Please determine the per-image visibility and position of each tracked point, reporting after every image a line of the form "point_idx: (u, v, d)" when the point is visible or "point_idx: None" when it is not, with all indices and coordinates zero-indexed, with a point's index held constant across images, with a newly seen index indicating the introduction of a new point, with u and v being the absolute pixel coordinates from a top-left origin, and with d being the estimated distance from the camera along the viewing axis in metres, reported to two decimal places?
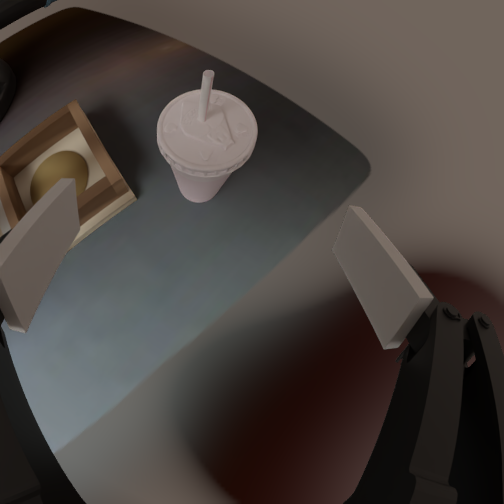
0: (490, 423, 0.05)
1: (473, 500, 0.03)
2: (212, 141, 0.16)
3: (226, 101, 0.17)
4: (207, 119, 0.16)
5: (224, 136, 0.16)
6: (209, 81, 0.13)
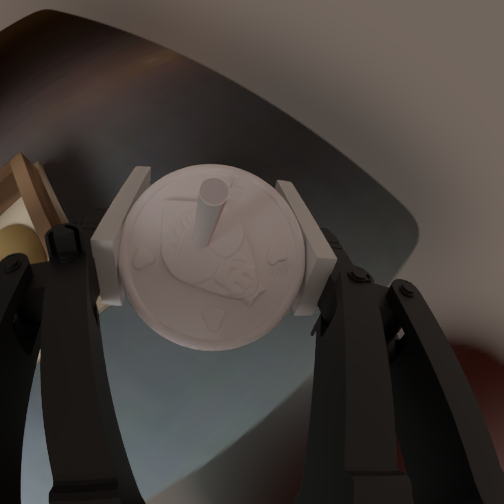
0: (440, 408, 0.05)
1: (443, 488, 0.04)
2: (224, 291, 0.09)
3: (246, 191, 0.10)
4: (212, 241, 0.09)
5: (246, 279, 0.09)
6: (217, 211, 0.05)
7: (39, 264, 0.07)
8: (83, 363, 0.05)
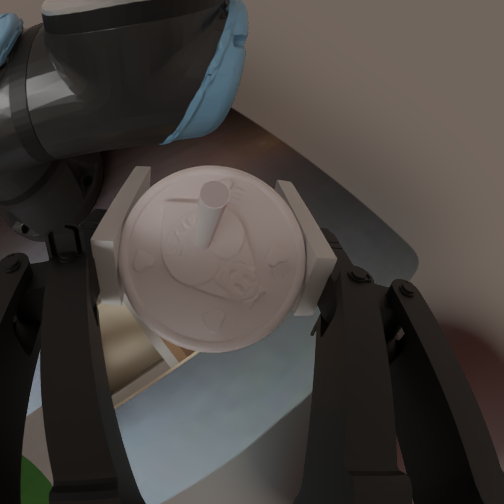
0: (440, 408, 0.05)
1: (443, 489, 0.04)
2: (224, 293, 0.09)
3: (247, 192, 0.10)
4: (213, 243, 0.09)
5: (247, 281, 0.09)
6: (218, 214, 0.05)
7: (39, 264, 0.07)
8: (83, 363, 0.05)
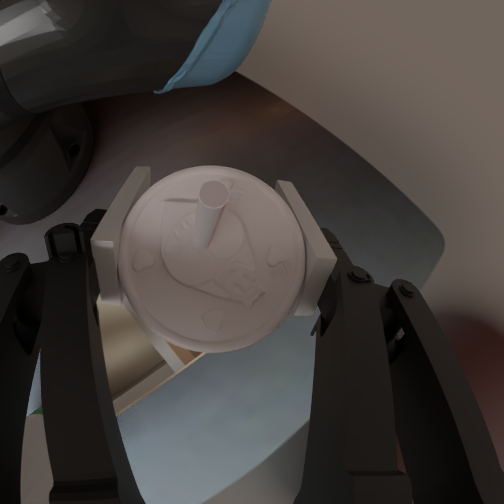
0: (440, 408, 0.05)
1: (443, 489, 0.04)
2: (224, 293, 0.09)
3: (246, 193, 0.10)
4: (212, 243, 0.09)
5: (246, 281, 0.09)
6: (216, 214, 0.05)
7: (39, 264, 0.07)
8: (83, 363, 0.05)
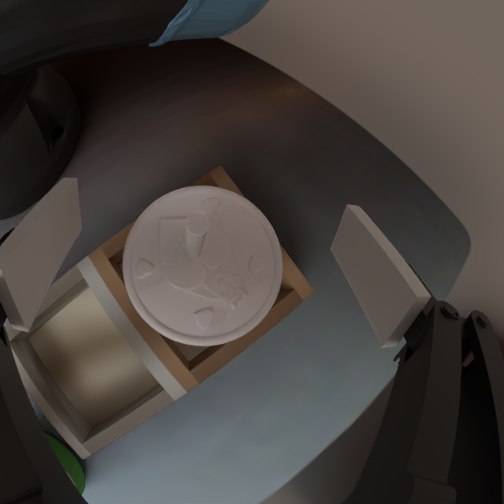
0: (489, 422, 0.05)
1: (472, 499, 0.03)
2: (212, 295, 0.11)
3: (231, 209, 0.12)
4: (202, 254, 0.11)
5: (231, 286, 0.11)
6: (201, 237, 0.07)
7: None
8: None
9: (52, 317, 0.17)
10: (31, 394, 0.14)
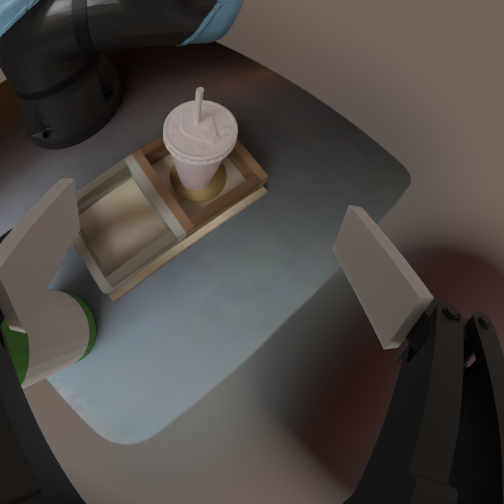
0: (490, 423, 0.05)
1: (473, 500, 0.03)
2: (204, 138, 0.22)
3: (214, 108, 0.23)
4: (200, 122, 0.22)
5: (213, 134, 0.22)
6: (200, 95, 0.19)
7: None
8: None
9: (97, 202, 0.29)
10: (75, 243, 0.25)
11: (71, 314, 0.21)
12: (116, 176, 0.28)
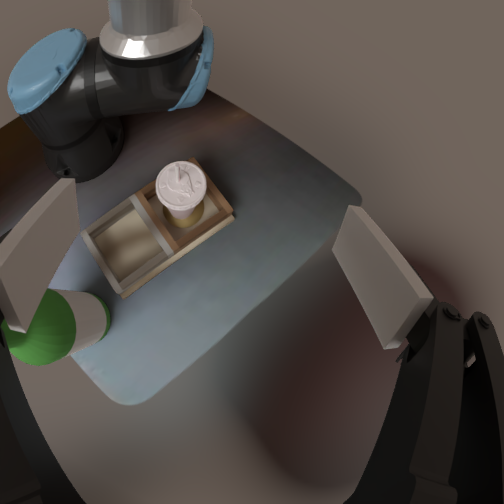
0: (490, 423, 0.05)
1: (473, 500, 0.03)
2: (183, 192, 0.34)
3: (190, 168, 0.35)
4: (180, 180, 0.34)
5: (188, 189, 0.34)
6: (178, 168, 0.30)
7: None
8: None
9: (109, 227, 0.41)
10: (96, 259, 0.37)
11: (96, 308, 0.33)
12: (123, 210, 0.39)
